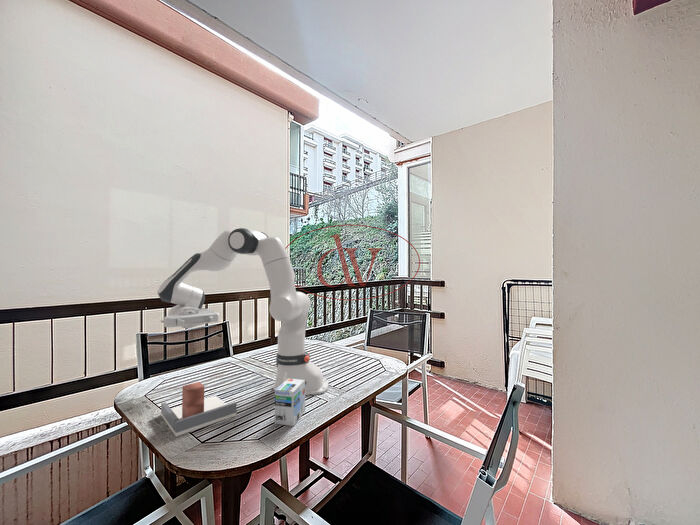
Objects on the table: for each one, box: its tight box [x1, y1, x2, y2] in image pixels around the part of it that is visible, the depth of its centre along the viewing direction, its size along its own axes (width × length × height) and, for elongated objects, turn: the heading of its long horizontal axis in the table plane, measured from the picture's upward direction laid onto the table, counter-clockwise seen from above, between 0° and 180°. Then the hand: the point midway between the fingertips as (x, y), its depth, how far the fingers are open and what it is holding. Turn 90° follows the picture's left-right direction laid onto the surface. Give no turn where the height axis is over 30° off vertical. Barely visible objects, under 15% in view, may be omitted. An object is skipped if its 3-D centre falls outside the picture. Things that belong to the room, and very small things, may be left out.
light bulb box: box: [274, 379, 306, 427], centre depth 98 cm, size 11×7×11 cm, turn 168°
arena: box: [160, 395, 238, 437], centre depth 100 cm, size 18×18×4 cm
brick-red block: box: [181, 381, 205, 418], centre depth 96 cm, size 5×5×10 cm
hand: (198, 321), depth 118 cm, fingers open, 8 cm apart
